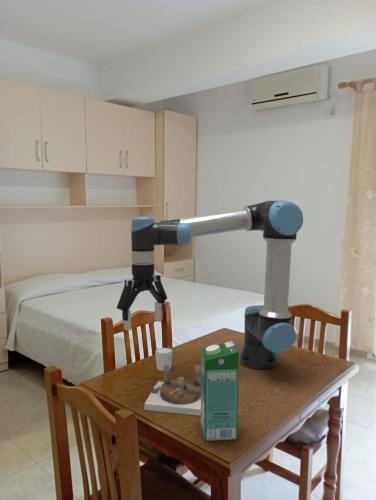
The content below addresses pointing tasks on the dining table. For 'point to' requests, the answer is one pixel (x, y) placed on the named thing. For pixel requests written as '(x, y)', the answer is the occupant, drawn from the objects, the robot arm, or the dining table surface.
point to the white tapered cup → (163, 358)
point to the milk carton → (219, 391)
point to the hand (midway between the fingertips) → (143, 325)
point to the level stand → (170, 404)
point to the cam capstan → (181, 388)
